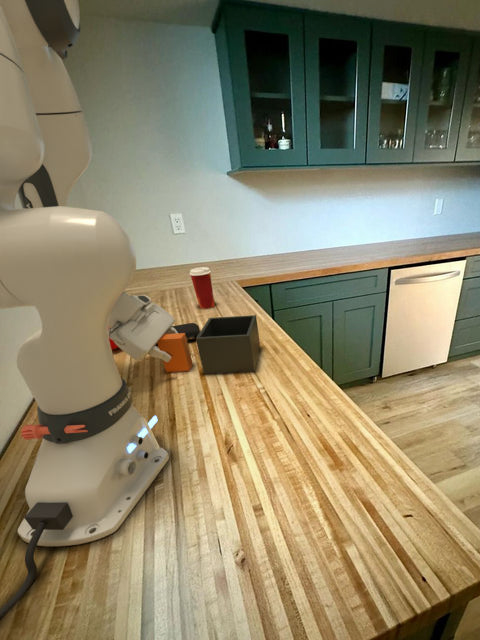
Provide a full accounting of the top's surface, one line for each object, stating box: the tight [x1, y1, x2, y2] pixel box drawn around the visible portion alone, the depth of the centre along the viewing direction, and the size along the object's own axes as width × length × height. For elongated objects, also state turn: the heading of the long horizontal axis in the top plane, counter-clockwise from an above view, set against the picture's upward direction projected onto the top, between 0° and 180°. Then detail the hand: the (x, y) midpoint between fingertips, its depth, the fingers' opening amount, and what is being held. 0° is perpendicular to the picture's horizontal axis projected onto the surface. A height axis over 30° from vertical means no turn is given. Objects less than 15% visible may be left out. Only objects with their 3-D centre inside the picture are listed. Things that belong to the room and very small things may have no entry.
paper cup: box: [189, 266, 215, 310], centre depth 126 cm, size 8×8×14 cm
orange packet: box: [157, 333, 194, 373], centre depth 84 cm, size 3×6×9 cm, turn 90°
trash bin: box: [195, 314, 261, 375], centre depth 86 cm, size 14×13×10 cm
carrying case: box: [155, 322, 201, 347], centre depth 102 cm, size 11×3×15 cm
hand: (176, 350), depth 84 cm, fingers open, 8 cm apart
